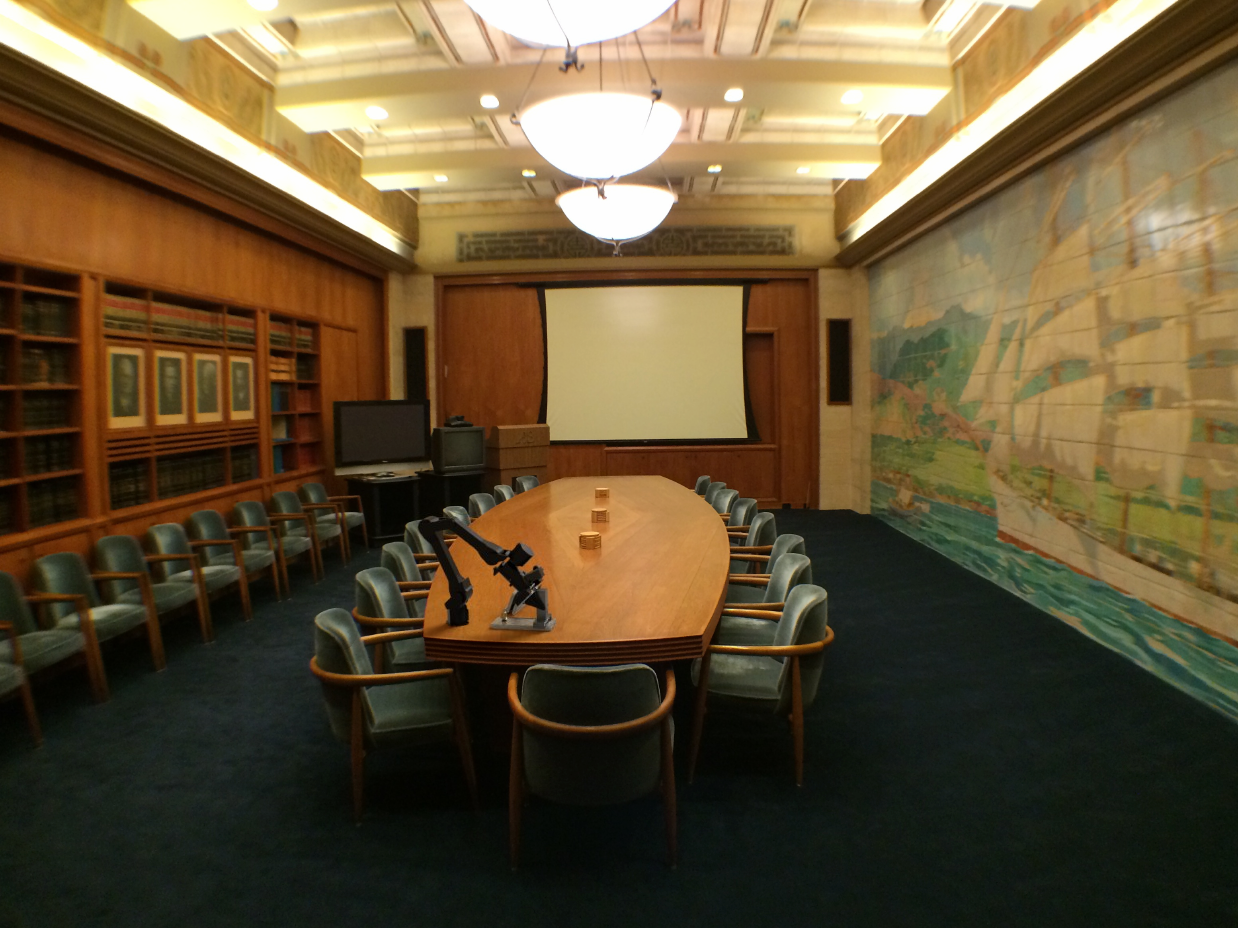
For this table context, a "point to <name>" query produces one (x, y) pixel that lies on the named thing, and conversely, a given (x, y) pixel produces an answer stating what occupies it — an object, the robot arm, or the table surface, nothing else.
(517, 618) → the bolt plate
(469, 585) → the robot arm
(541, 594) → the leg
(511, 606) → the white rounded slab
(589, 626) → the table surface
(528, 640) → the table surface
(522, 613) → the table surface
